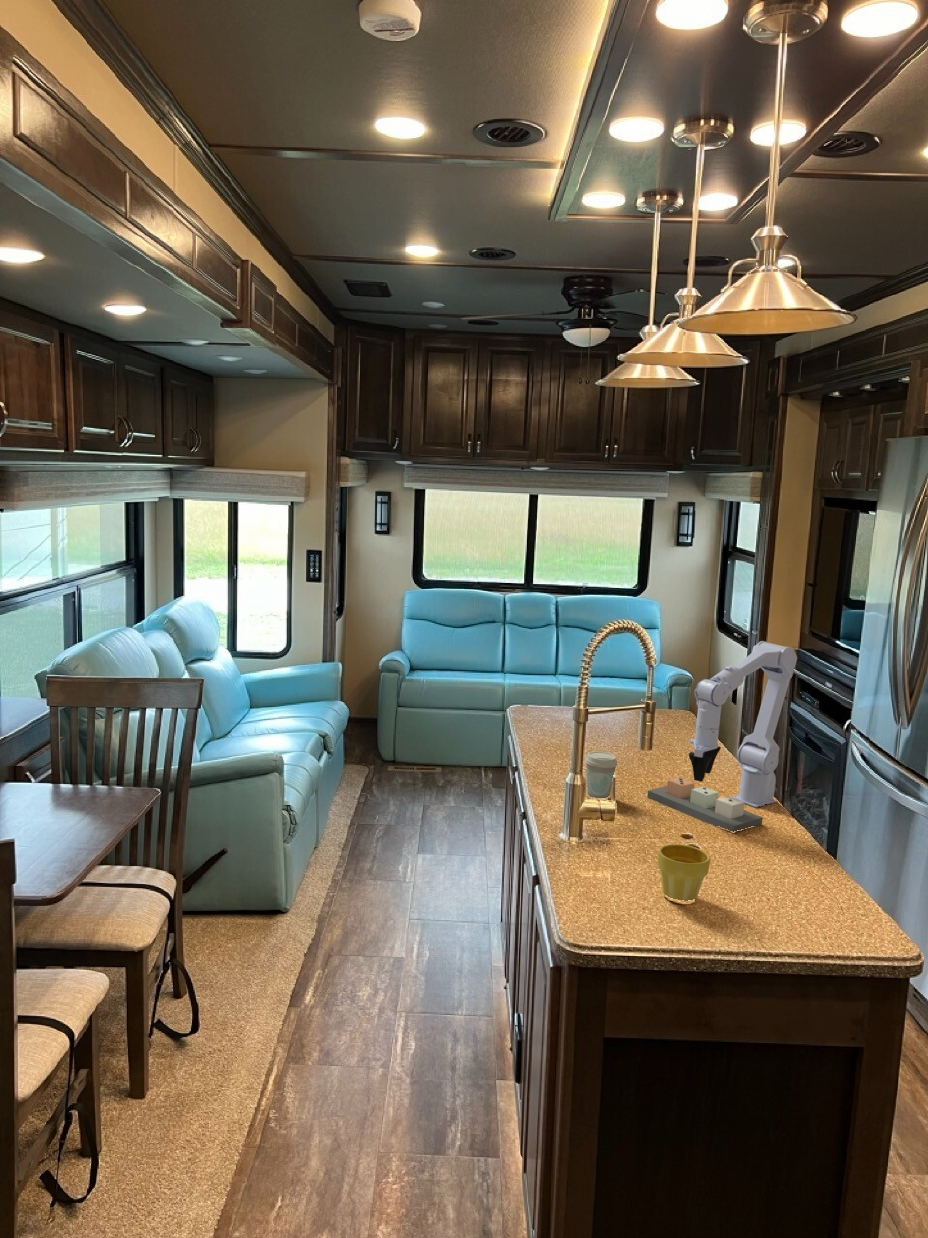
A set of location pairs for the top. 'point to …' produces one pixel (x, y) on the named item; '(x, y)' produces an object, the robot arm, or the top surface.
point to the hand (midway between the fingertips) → (702, 776)
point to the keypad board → (704, 811)
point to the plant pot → (682, 870)
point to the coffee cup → (600, 773)
